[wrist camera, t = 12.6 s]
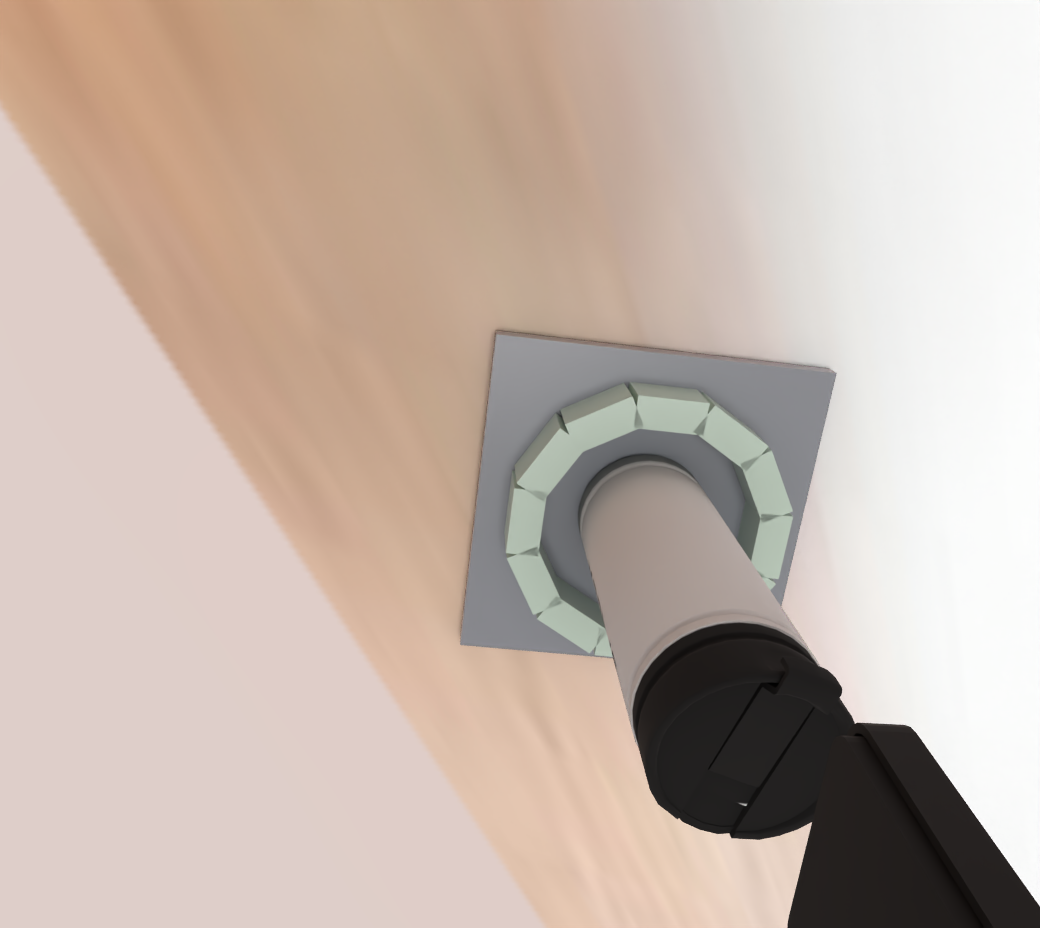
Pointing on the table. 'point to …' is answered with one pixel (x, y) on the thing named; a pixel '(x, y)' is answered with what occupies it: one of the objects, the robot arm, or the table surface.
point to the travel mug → (705, 657)
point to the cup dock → (616, 435)
